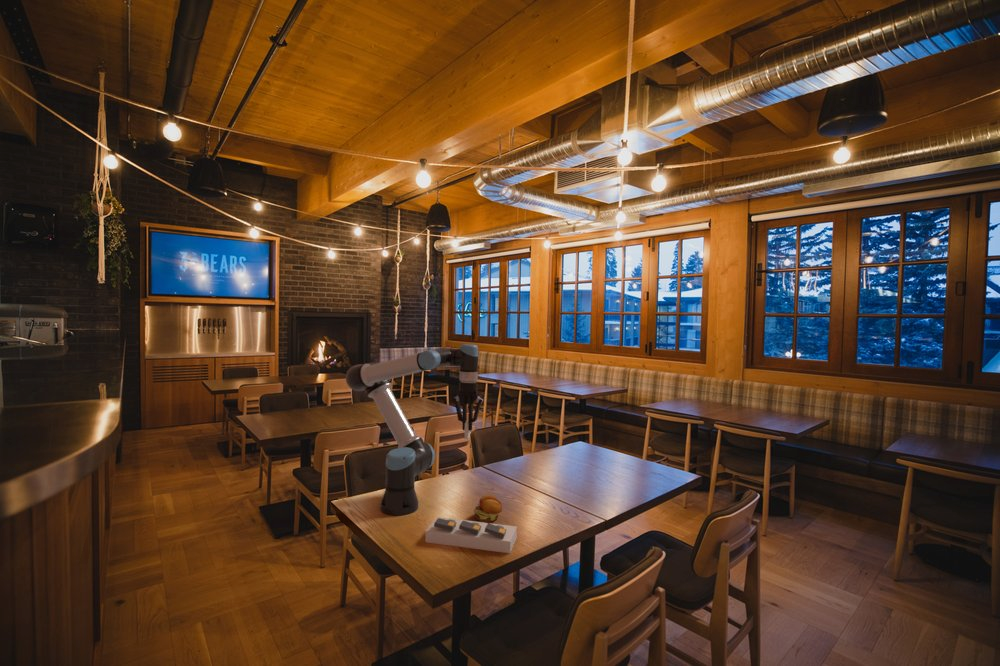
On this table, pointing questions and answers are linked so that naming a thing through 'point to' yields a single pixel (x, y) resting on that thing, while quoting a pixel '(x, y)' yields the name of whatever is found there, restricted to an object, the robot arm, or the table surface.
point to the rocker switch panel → (472, 537)
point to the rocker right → (495, 530)
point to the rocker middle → (470, 527)
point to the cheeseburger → (488, 508)
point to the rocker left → (445, 524)
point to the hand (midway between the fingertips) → (467, 438)
